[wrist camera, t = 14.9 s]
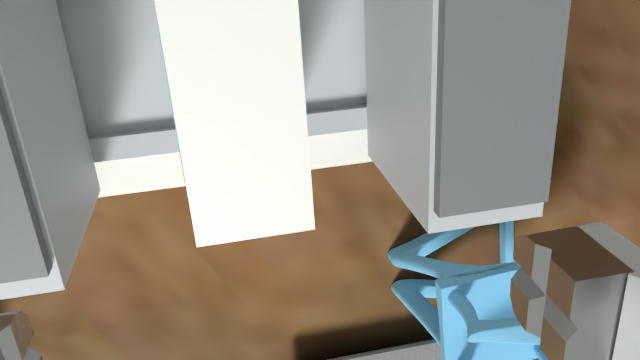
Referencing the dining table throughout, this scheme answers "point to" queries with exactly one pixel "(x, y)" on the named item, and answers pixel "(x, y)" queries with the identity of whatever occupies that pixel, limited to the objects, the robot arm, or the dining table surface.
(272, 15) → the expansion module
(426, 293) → the chair
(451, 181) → the white u-shaped cradle
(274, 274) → the dining table surface
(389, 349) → the electrical outlet
